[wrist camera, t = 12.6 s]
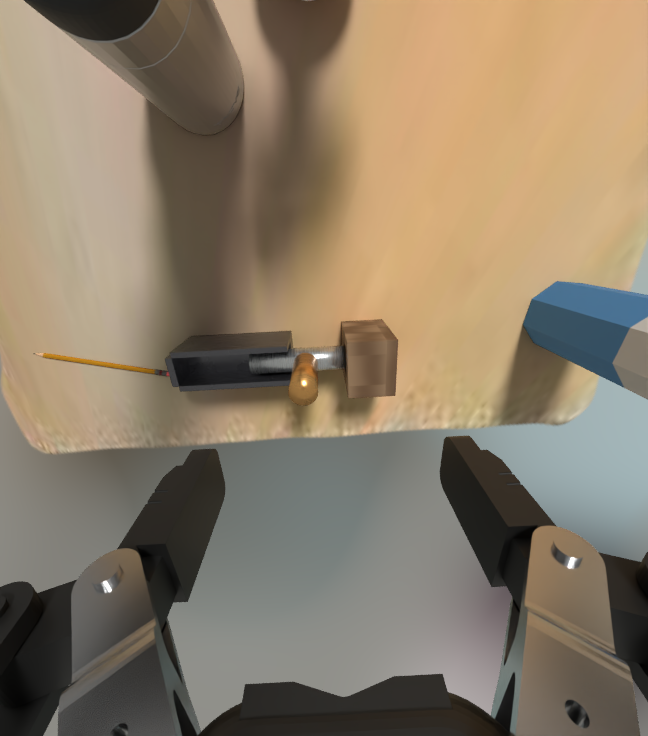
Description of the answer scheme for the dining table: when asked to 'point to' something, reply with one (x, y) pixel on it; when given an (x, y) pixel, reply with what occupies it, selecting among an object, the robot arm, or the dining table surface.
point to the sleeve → (226, 361)
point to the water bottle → (594, 330)
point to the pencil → (104, 364)
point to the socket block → (369, 358)
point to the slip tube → (300, 368)
